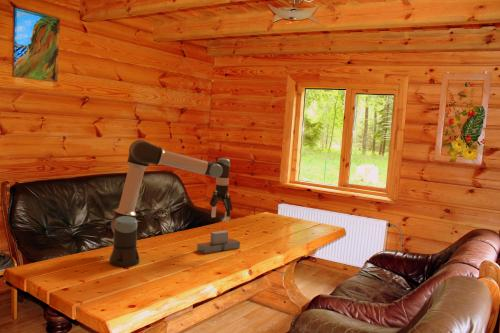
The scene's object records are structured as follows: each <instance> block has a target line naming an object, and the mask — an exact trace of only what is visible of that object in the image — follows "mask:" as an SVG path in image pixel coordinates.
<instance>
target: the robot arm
mask: <svg viewBox="0 0 500 333" xmlns="http://www.w3.org/2000/svg"><path fill="white" fill-rule="evenodd" d="M127 164H128V170H127V173H126V176H125V182H124V185H123V189H122V194H121V198H120V201H119V206H118V208H116V209H115V210H114V213H113V217H112V219H111V220H110V228H111V231H112V233H113V245H112V246H113V247H112V248H113V249H112V251H111V254H110V257H109V261H108V262H109V264H110V265H111V266H114V267H122V268H125V267H133V266H137V265H139V263H140V256H139V251H138V248H137V245H138V244H137V242H138V241H137V240H138V238H137V237H138V225H139V224H138V220H137V219H136V218H137V213H136V211H135V210H136V206H137V203H138V198H139V193H140V190H141V186H142V181H143V178H144V174H145V170H146V169H147V168H149V166H150V165H156V166H159V165H163V166H167V167H172V168H177V169H179V170H184V171H188V172H193V173H196V174H200V175H204V176H207V177H211V178H216V180H215V190H214V191H213V193H212V196H211V199H210V201H209V205H210V206H211V208H210V209H211V214H210V215H211V218H216V217H217V216H216V215H217V205H218V203H219V201H222V203H223V206H224V208H225V212H224V223H229V222H230V215H231V211H233V206H232V205H233V204H232V201H231V194H230V193H227V192H228V191H229V185H230V184H229V183H230V171H231V170H230V169H231V160H230V159H229V158H222V157H221V158H217V161H207V160H203V159H199V158H195V157H192V156H188V155H183V154H180V153H176V152H172V151H168V150H164V148H163V147H160V146H157V145H154V144H152V143H150V142H149V141H145V140H143V139H138V140H135V141H133V142H132V143H131V144H130V145H129V148H128V157H127Z"/></svg>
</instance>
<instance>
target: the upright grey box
mask: <svg viewBox="0 0 500 333" xmlns="http://www.w3.org/2000/svg"><path fill="white" fill-rule="evenodd" d="M228 239H229V231H228V230H227V231H226V230H220V231H212V232H210V241H209V242H210V243H212V244H214V245H218V244H222V243H223V244H224V243H228Z"/></svg>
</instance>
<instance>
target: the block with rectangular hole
mask: <svg viewBox="0 0 500 333" xmlns="http://www.w3.org/2000/svg"><path fill="white" fill-rule="evenodd" d="M210 242H211V241H209V242H207V241H206V242H201V243H197V244H196V245H197V246H196V251H198V252H199V253H201V254H204V255H207V254H211V253H218V252H225V251H230V250H235V249H236V250H237V249H240V248H241V241H239V240H236V239H234V238H230V239H229V238H228V243H224V244H223V243H222V244H218V245H214V244H212V243H210Z"/></svg>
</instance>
